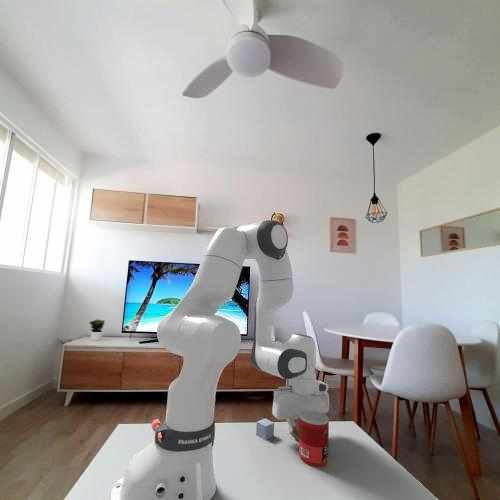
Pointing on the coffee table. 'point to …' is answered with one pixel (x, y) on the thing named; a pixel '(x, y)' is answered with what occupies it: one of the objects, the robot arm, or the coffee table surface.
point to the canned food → (314, 438)
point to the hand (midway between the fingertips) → (300, 430)
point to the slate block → (265, 429)
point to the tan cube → (297, 423)
